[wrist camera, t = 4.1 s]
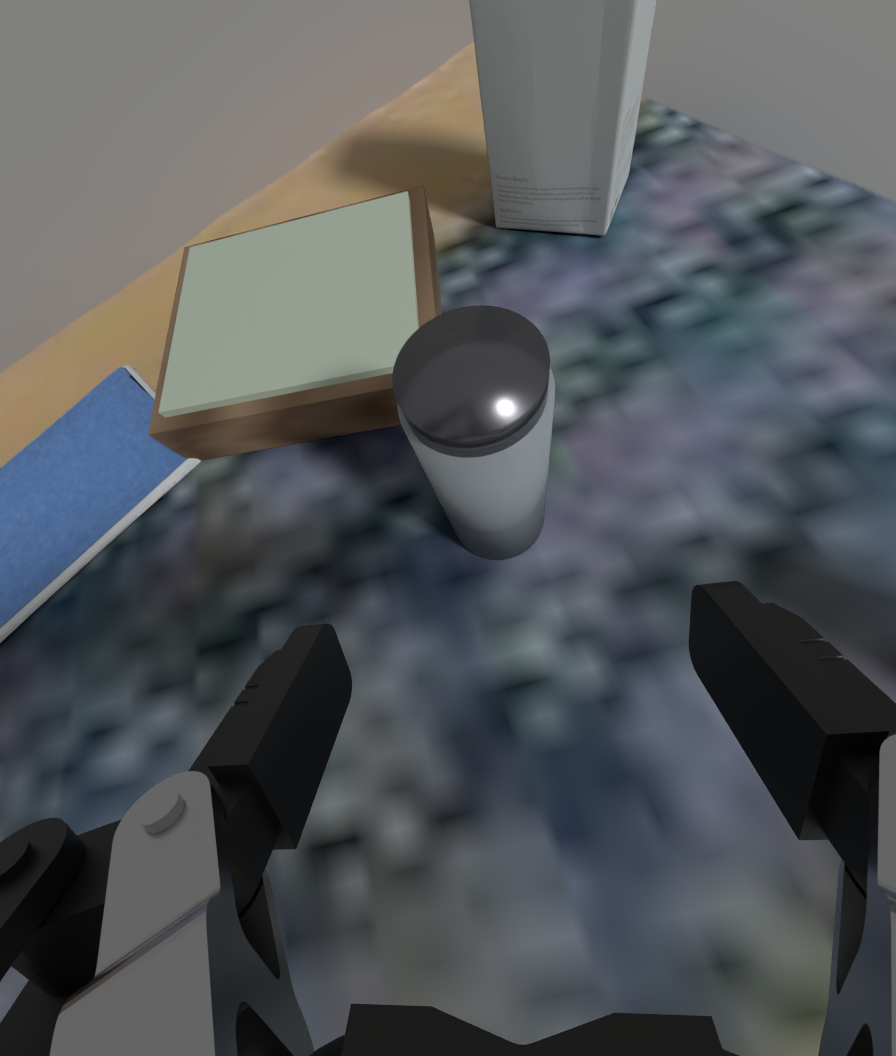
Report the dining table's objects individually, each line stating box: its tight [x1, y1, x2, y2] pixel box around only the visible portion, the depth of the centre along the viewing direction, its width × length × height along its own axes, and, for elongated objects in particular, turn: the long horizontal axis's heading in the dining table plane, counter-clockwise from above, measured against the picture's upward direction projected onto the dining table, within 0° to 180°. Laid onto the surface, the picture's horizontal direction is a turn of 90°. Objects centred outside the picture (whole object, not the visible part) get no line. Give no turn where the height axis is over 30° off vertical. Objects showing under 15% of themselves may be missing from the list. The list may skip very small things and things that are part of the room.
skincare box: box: [469, 0, 656, 236], centre depth 23 cm, size 8×6×15 cm
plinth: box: [148, 186, 442, 460], centre depth 28 cm, size 18×16×4 cm
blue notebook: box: [0, 365, 201, 643], centre depth 30 cm, size 19×13×1 cm, turn 136°
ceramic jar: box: [392, 306, 555, 560], centre depth 18 cm, size 5×5×12 cm
